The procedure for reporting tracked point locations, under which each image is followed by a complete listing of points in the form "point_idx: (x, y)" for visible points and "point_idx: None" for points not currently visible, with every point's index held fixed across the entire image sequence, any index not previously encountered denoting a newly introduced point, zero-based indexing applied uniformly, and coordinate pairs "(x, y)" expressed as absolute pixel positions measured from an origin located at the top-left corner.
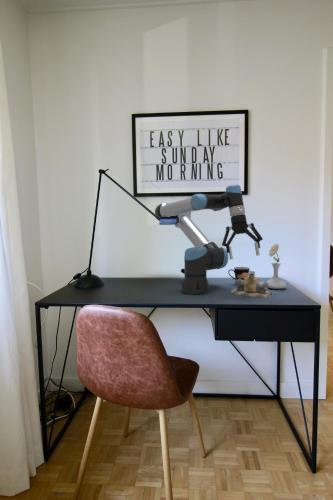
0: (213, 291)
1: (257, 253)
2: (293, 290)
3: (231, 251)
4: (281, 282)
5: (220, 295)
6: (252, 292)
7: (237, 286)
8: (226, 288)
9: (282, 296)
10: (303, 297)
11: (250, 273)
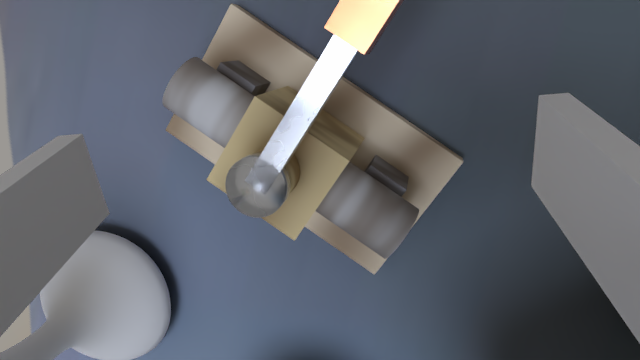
0: None
1: (73, 167)
2: None
3: (609, 147)
4: None
5: None
6: None
7: (405, 184)
8: (452, 322)
9: (121, 56)
10: (4, 25)
11: (284, 117)
